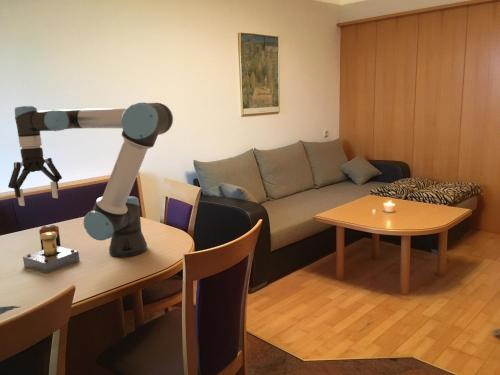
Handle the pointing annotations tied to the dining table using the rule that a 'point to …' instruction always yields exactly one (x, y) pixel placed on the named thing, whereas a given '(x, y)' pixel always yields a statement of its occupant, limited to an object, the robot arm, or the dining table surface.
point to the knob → (49, 243)
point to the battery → (50, 229)
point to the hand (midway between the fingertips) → (39, 201)
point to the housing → (51, 260)
